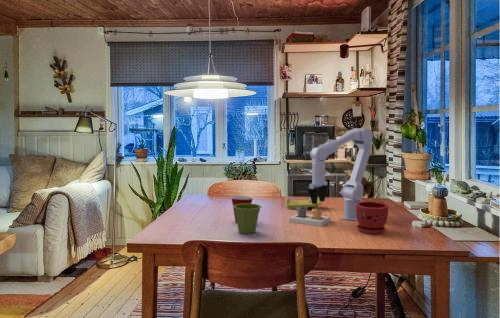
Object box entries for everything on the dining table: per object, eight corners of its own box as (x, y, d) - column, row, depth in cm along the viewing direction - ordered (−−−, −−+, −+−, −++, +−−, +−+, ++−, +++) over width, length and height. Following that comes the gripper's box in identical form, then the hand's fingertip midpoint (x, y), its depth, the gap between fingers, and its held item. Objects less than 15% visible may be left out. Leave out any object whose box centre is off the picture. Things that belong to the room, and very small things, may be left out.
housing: (330, 221, 201) (330, 216, 200) (321, 226, 190) (321, 221, 190) (299, 217, 209) (299, 213, 209) (288, 222, 199) (288, 217, 198)
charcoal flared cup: (308, 220, 202) (308, 207, 202) (304, 222, 198) (304, 209, 198) (299, 219, 205) (299, 206, 204) (295, 221, 201) (295, 208, 200)
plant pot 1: (237, 236, 173) (237, 209, 172) (230, 229, 184) (230, 204, 183) (264, 234, 176) (265, 207, 175) (256, 227, 187) (256, 202, 186)
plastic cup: (257, 220, 201) (257, 195, 200) (245, 225, 191) (245, 199, 191) (238, 218, 206) (238, 193, 205) (225, 222, 197) (225, 197, 196)
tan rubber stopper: (315, 220, 201) (315, 208, 201) (323, 222, 198) (324, 209, 198) (309, 222, 198) (309, 209, 197) (318, 224, 195) (318, 211, 194)
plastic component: (284, 205, 228) (287, 194, 236) (286, 216, 232) (288, 205, 240) (322, 204, 223) (323, 193, 231) (323, 215, 227) (324, 204, 235)
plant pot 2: (349, 231, 181) (350, 203, 180) (365, 226, 190) (366, 200, 189) (377, 237, 172) (378, 208, 171) (393, 231, 181) (394, 204, 180)
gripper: (319, 175, 188) (318, 205, 189) (333, 172, 199) (332, 201, 201) (305, 174, 192) (304, 204, 193) (319, 171, 204) (319, 199, 205)
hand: (318, 202), depth 197 cm, fingers open, 7 cm apart
